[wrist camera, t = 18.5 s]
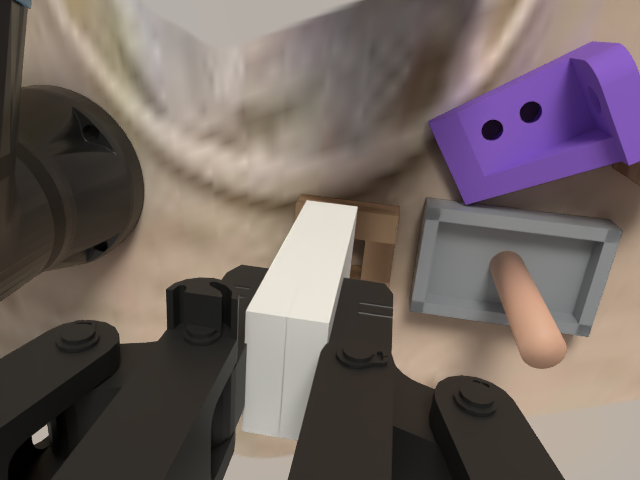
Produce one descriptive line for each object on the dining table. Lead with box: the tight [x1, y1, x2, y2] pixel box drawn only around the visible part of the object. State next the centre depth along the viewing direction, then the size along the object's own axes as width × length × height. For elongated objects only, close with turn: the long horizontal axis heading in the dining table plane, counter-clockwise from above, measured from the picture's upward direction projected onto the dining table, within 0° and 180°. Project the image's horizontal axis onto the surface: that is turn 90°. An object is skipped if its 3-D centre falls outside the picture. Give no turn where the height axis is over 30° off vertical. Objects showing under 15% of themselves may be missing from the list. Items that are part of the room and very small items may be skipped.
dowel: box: [489, 251, 567, 369], centre depth 37 cm, size 3×3×12 cm
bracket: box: [428, 42, 640, 205], centre depth 36 cm, size 12×7×7 cm, turn 118°
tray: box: [410, 198, 623, 337], centre depth 42 cm, size 14×9×2 cm, turn 85°
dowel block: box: [294, 194, 399, 288], centre depth 43 cm, size 8×8×2 cm
